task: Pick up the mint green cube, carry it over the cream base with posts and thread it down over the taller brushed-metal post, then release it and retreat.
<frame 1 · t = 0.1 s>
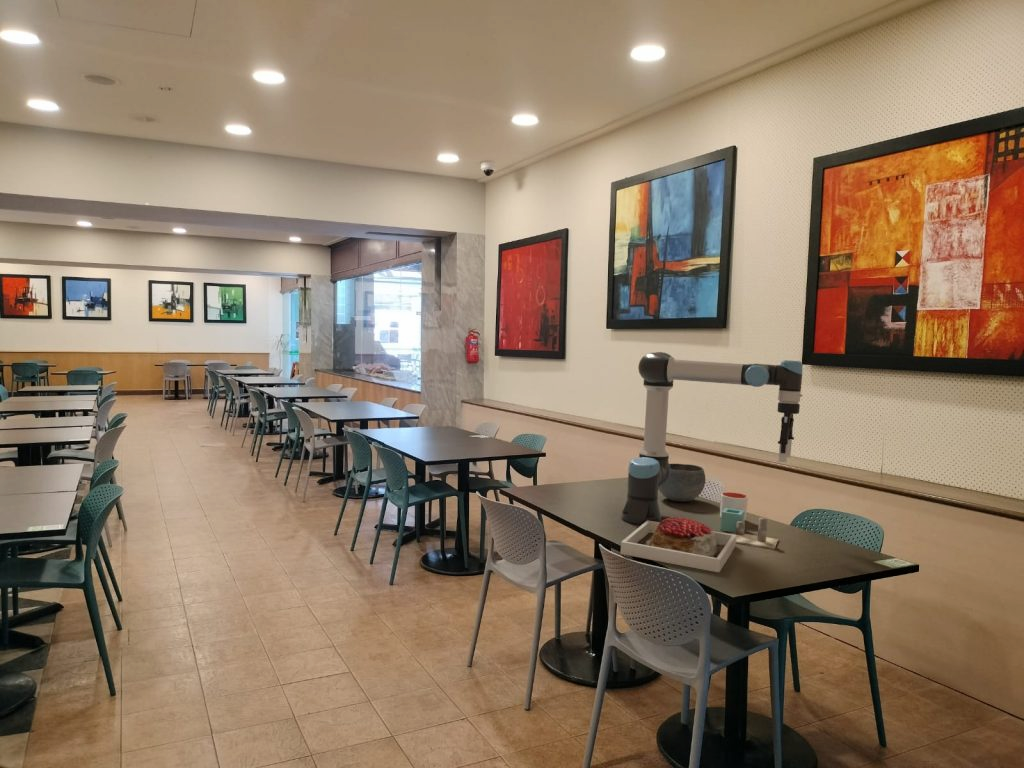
hand: (784, 459, 262), 28 cm above the table, fingers open, 13 cm apart
cream base with posts: (752, 541, 252), on the table
mint green cube: (731, 529, 265), on the table
cup: (732, 520, 280), on the table
cake: (678, 551, 237), resting in cake tray
bowl: (678, 500, 309), on the table
cake tray: (679, 549, 237), on the table
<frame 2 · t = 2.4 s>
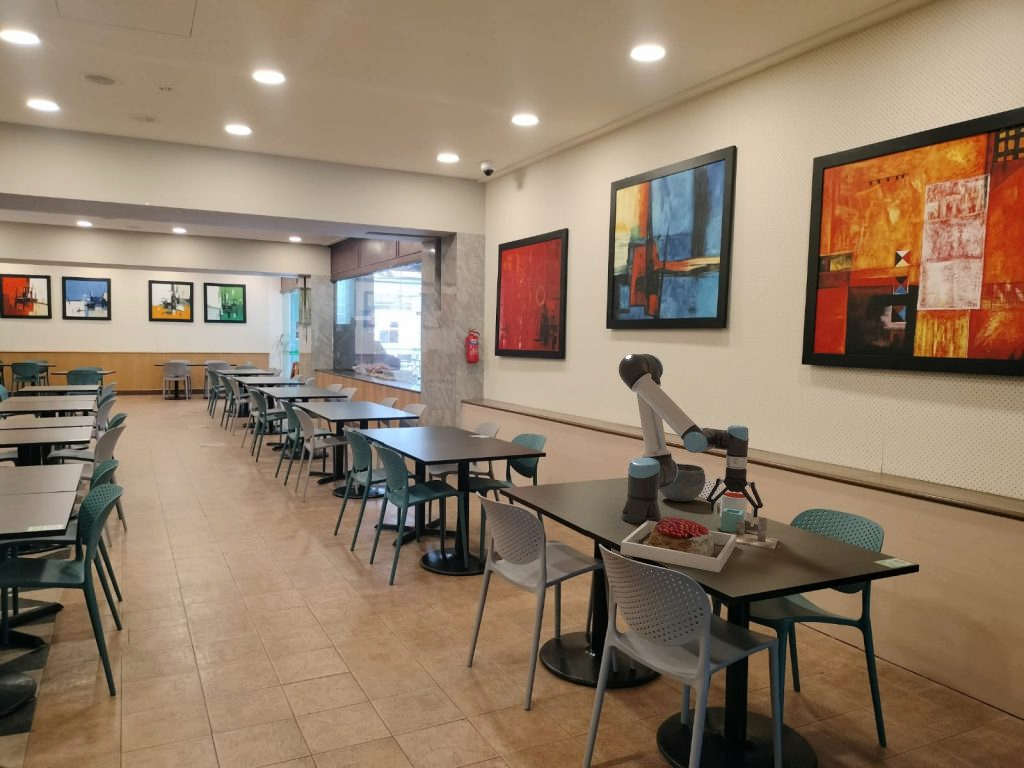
hand: (733, 523, 265), 3 cm above the table, fingers open, 13 cm apart
cake: (676, 551, 236), resting in cake tray
everything else where it was.
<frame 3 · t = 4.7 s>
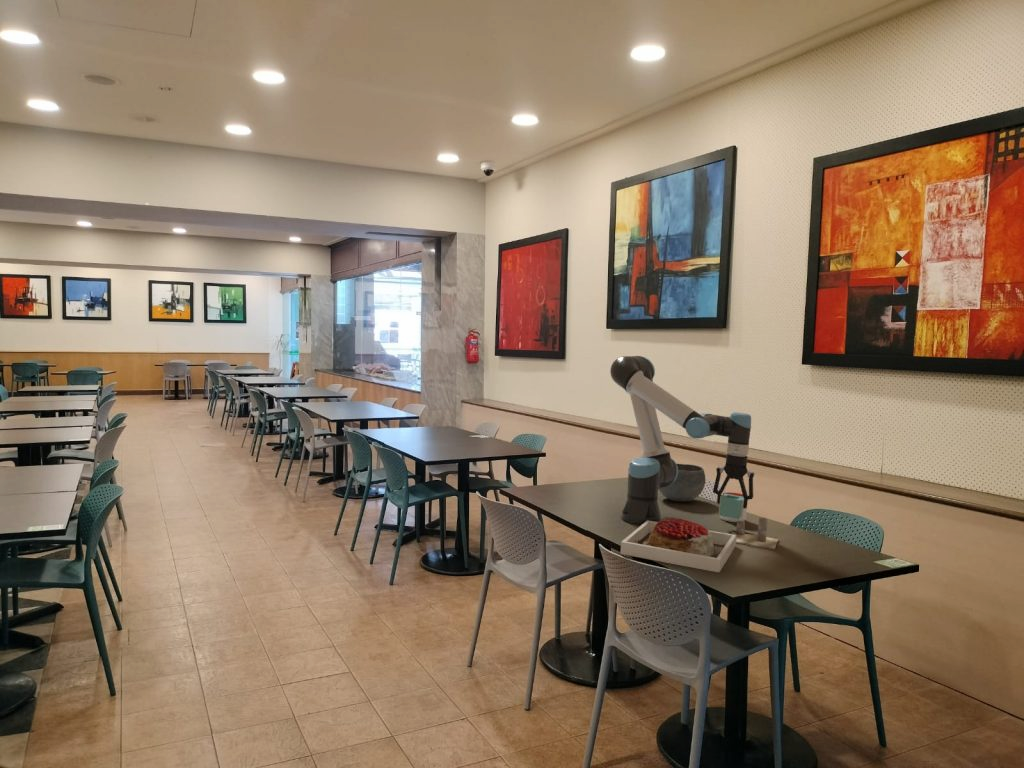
hand: (730, 514, 265), 6 cm above the table, fingers closed on mint green cube, 7 cm apart
mint green cube: (730, 515, 265), point 5 cm above the table, touching gripper
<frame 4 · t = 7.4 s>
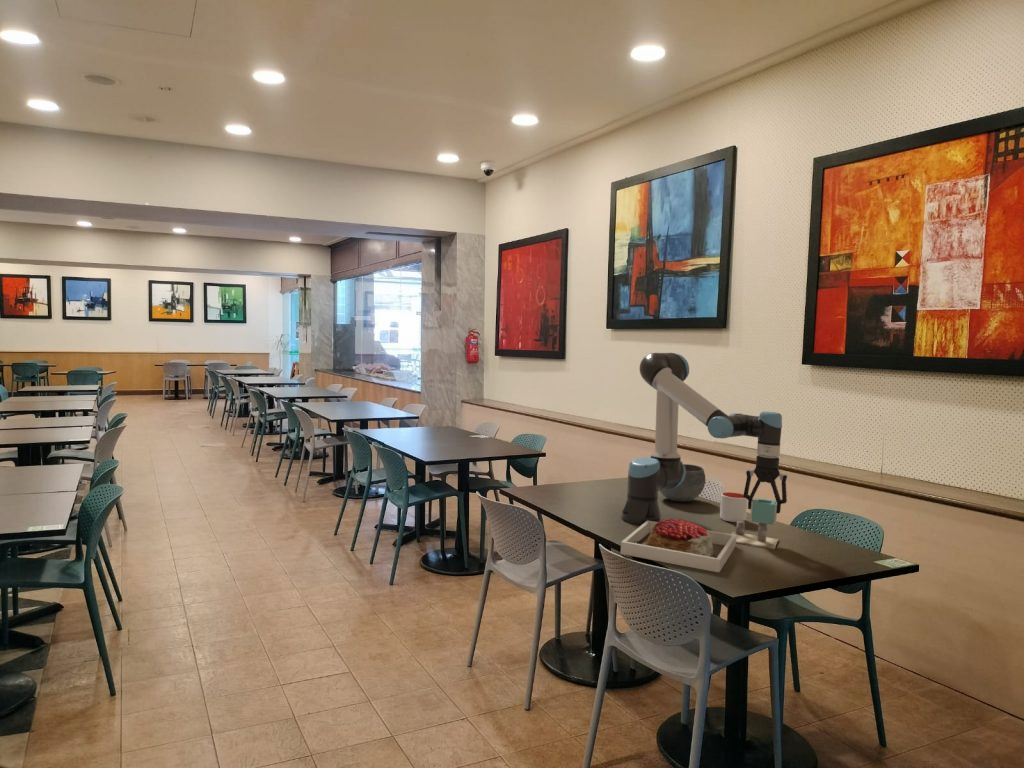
hand: (763, 520, 250), 8 cm above the table, fingers closed on mint green cube, 7 cm apart
mint green cube: (763, 520, 250), point 8 cm above the table, touching gripper
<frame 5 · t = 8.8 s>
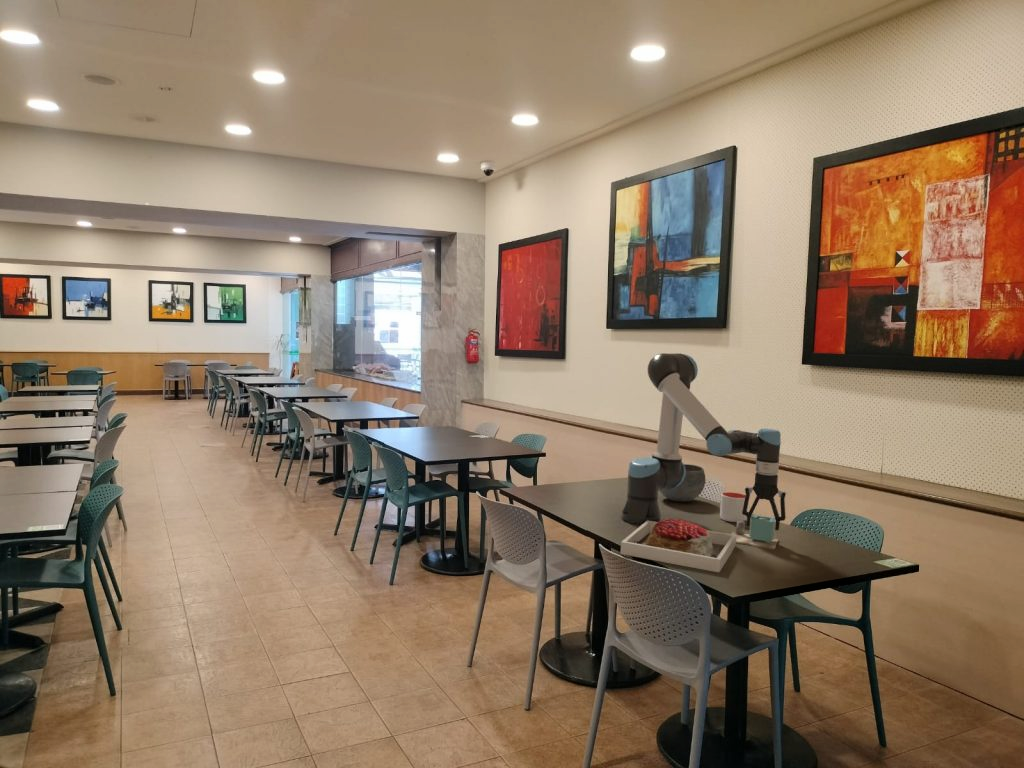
hand: (762, 536, 250), 2 cm above the table, fingers closed on mint green cube, 7 cm apart
mint green cube: (762, 537, 250), point 2 cm above the table, touching gripper
when the fingers open (2 cm above the table, at t = 10.0 s): mint green cube stays where it is, resting on cream base with posts.
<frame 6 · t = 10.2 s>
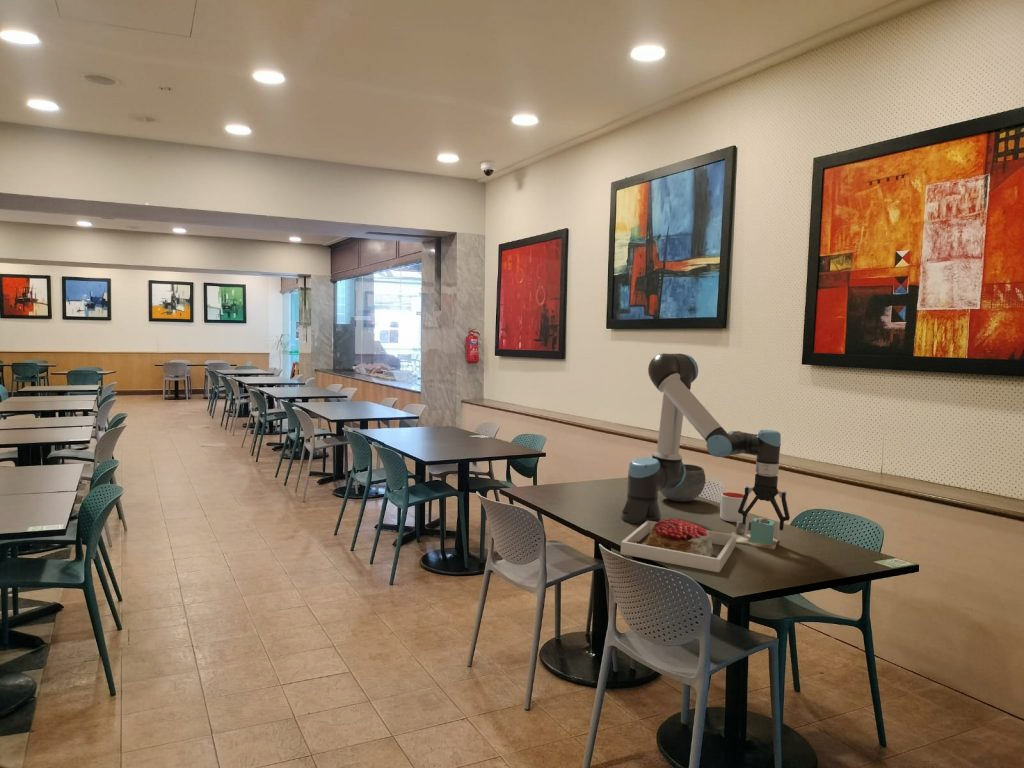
hand: (761, 536, 250), 2 cm above the table, fingers open, 10 cm apart
mint green cube: (761, 540, 250), point 1 cm above the table, touching cream base with posts
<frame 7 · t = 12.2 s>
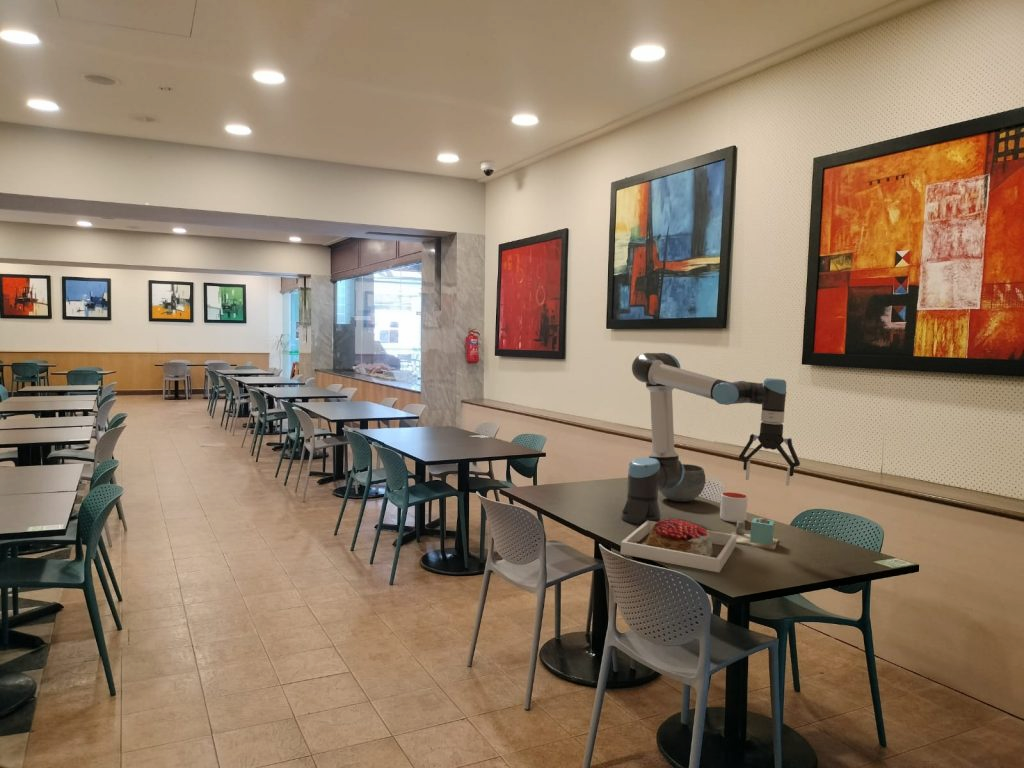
hand: (767, 482, 249), 22 cm above the table, fingers open, 13 cm apart
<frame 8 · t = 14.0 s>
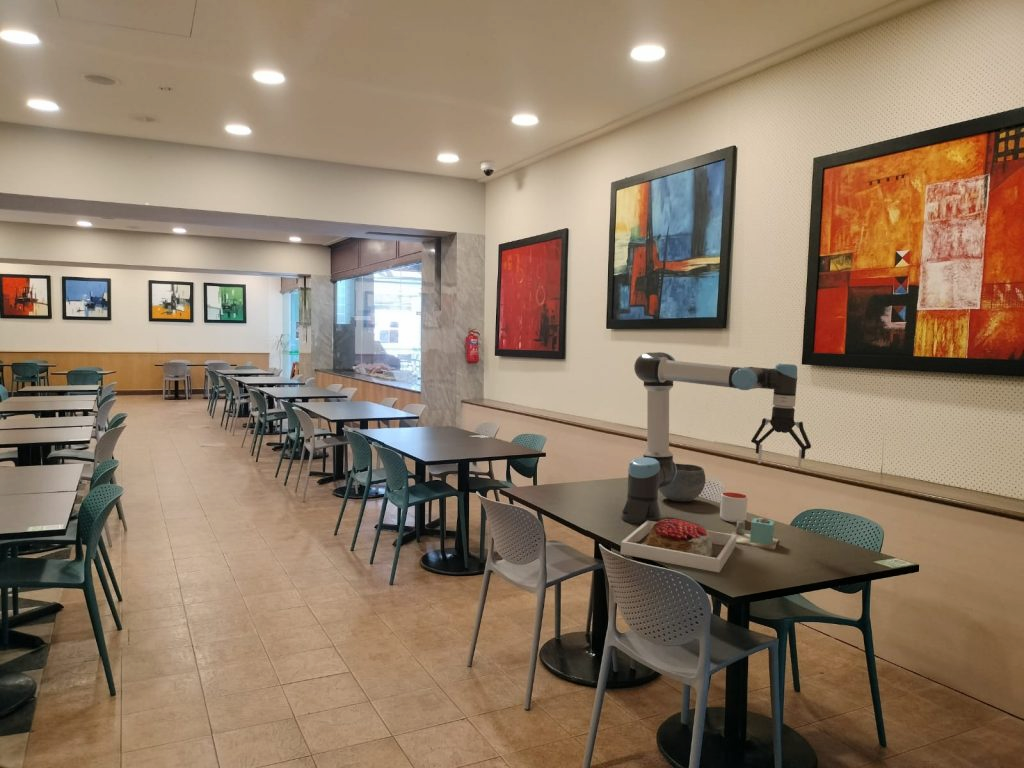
hand: (779, 465, 256), 27 cm above the table, fingers open, 13 cm apart
at the end: mint green cube 0.0 cm from the target spot on the cream base with posts, point 0.6 cm above the cream base with posts's base; the gripper is holding nothing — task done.
